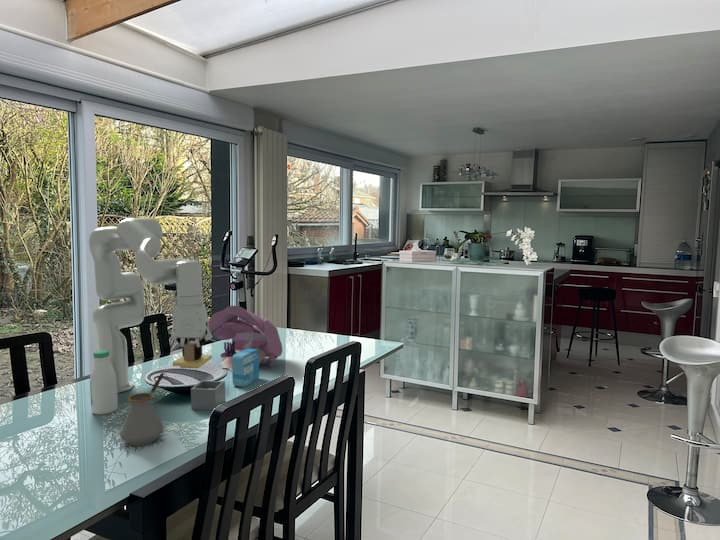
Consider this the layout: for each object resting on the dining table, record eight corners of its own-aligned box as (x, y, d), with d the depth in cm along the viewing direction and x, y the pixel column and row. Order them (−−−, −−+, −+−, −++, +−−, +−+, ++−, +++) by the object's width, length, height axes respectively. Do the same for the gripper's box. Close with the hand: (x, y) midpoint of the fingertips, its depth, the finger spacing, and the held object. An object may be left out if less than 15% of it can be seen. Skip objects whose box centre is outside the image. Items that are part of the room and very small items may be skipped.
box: (191, 409, 169) (190, 388, 168) (202, 399, 178) (201, 380, 177) (215, 410, 168) (215, 389, 167) (225, 400, 177) (224, 381, 176)
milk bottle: (123, 407, 171) (119, 349, 168) (104, 416, 163) (101, 355, 161) (105, 404, 173) (101, 347, 171) (86, 413, 166) (82, 353, 163)
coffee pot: (152, 449, 141) (150, 397, 139) (112, 448, 142) (109, 396, 140) (183, 418, 162) (181, 372, 160) (148, 417, 163) (146, 371, 161)
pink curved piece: (200, 379, 214) (184, 317, 206) (226, 353, 236) (212, 296, 228) (278, 377, 206) (264, 312, 198) (297, 350, 228) (285, 291, 220)
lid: (172, 369, 156) (171, 346, 155) (185, 360, 165) (184, 339, 164) (200, 370, 155) (199, 347, 154) (211, 361, 164) (211, 339, 163)
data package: (242, 388, 189) (242, 356, 188) (232, 386, 191) (231, 355, 189) (259, 378, 200) (258, 348, 199) (249, 377, 202) (248, 347, 200)
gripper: (158, 302, 155) (161, 361, 157) (210, 303, 153) (212, 362, 155) (170, 298, 162) (173, 354, 164) (220, 298, 160) (222, 355, 162)
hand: (192, 358), depth 160 cm, fingers closed on lid, 3 cm apart
